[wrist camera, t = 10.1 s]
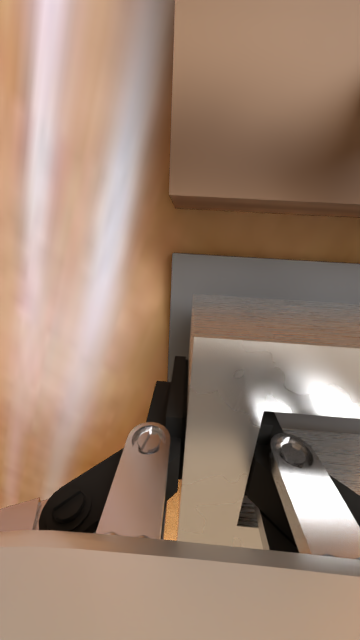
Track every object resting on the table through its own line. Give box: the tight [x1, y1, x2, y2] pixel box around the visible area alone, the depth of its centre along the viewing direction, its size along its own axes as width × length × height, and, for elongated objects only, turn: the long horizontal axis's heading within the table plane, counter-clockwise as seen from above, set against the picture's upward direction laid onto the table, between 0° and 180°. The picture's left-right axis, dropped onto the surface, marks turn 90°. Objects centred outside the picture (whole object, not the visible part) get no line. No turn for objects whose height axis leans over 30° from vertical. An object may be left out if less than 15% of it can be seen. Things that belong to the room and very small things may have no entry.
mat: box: [168, 253, 360, 434], centre depth 12 cm, size 12×14×1 cm
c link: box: [177, 294, 360, 550], centre depth 9 cm, size 13×9×4 cm
